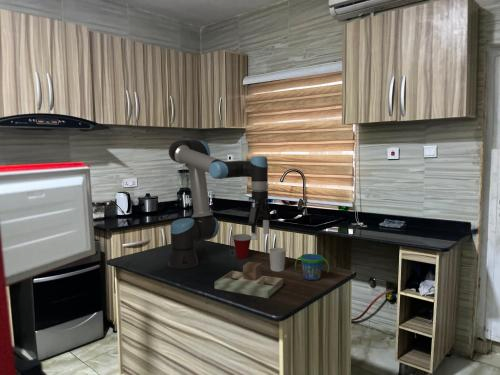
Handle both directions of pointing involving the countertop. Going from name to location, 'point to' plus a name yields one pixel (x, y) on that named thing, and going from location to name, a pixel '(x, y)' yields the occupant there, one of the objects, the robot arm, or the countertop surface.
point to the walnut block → (252, 271)
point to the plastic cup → (242, 245)
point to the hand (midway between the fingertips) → (260, 236)
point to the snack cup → (311, 265)
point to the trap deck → (248, 284)
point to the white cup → (277, 259)
